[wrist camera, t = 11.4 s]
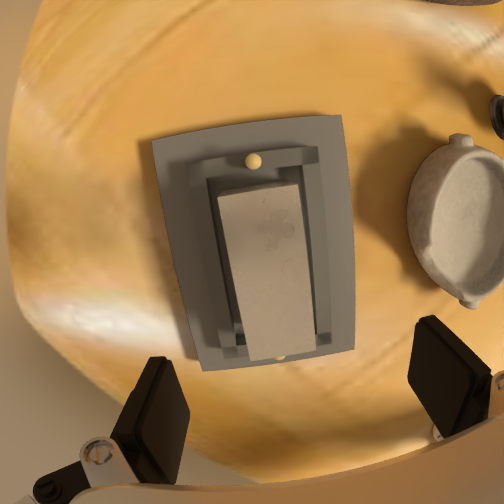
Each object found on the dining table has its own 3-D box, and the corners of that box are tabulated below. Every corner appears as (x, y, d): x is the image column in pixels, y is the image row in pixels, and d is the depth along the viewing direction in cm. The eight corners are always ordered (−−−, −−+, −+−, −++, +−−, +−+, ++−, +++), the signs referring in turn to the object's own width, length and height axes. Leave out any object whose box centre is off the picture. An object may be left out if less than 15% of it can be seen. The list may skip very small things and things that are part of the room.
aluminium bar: (285, 179, 21) (297, 184, 16) (303, 315, 24) (316, 350, 19) (223, 190, 21) (217, 197, 16) (249, 324, 24) (250, 361, 19)
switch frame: (349, 340, 27) (363, 366, 23) (204, 361, 27) (199, 390, 23) (335, 117, 21) (353, 108, 17) (157, 141, 21) (139, 137, 17)
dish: (459, 301, 26) (486, 322, 22) (371, 247, 24) (397, 266, 20) (512, 188, 23) (542, 195, 18) (435, 109, 21) (468, 103, 16)
